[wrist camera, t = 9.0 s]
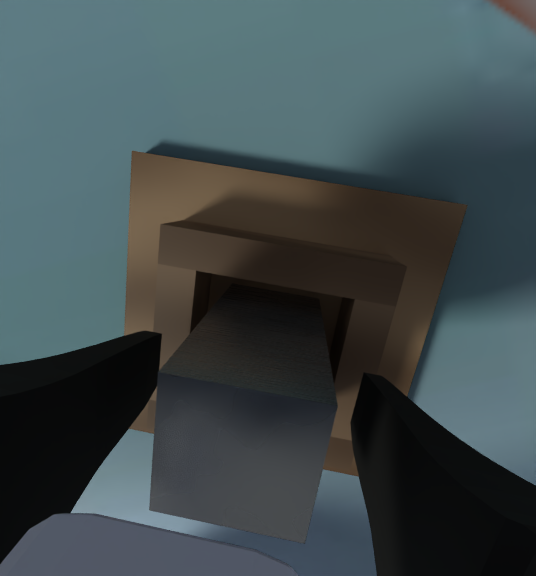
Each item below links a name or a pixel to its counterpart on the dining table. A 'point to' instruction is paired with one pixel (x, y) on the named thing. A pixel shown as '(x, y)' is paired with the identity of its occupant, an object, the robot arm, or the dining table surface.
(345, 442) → the socket holder
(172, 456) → the metal pin
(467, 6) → the dining table surface
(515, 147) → the dining table surface
